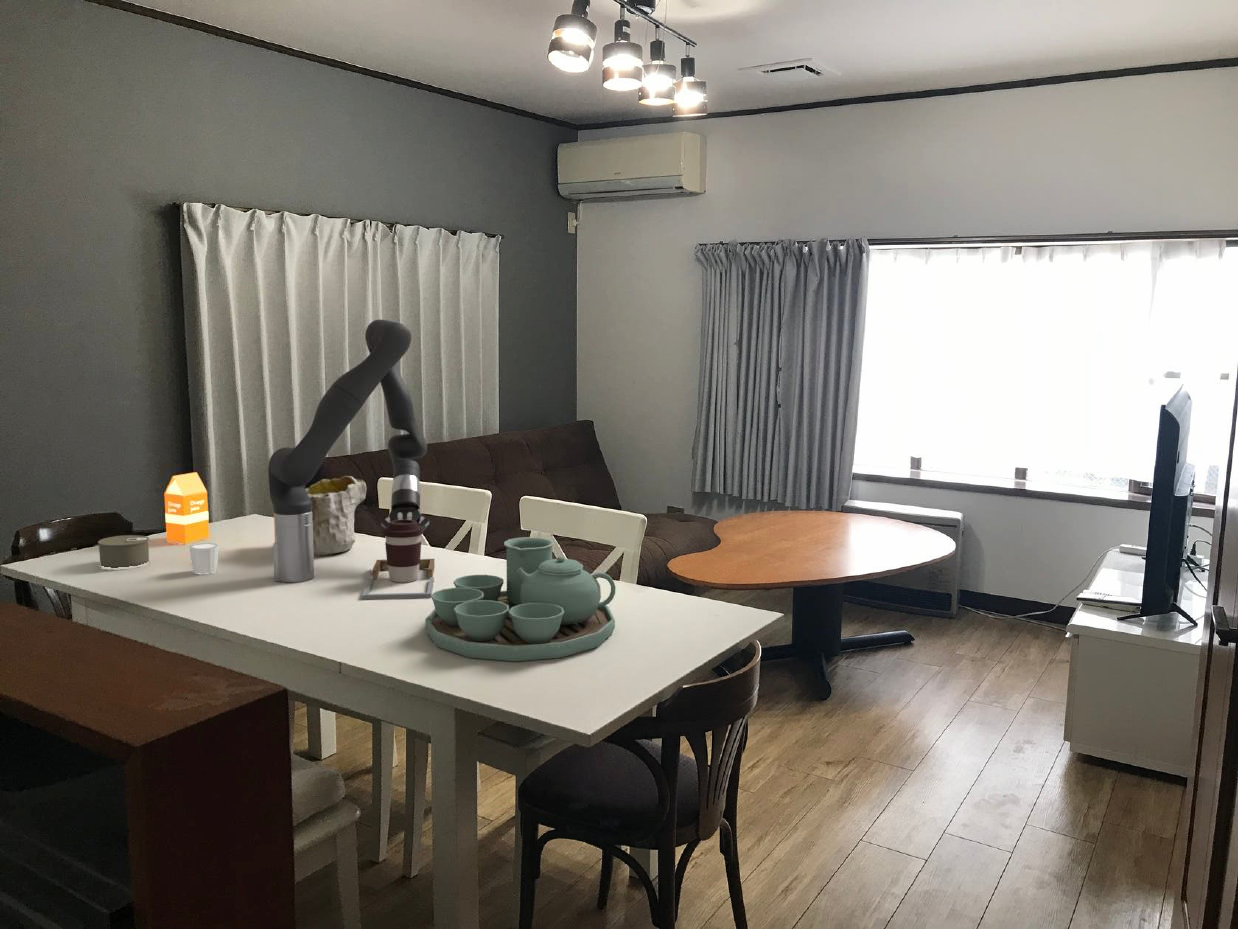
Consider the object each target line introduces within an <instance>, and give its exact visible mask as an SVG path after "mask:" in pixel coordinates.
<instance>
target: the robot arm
mask: <svg viewBox="0 0 1238 929" xmlns="http://www.w3.org/2000/svg"><path fill="white" fill-rule="evenodd" d="M365 342H366V347H367V350H368V352H369V355H367V357H366V358H365V359H363V360H362V361H361V362H360V363H359V364H357V365H356V366H355V367H353V368H351V369H349V370H348V371H346V372H345V373H344V374H342V375H341V376H339V377H337V379H336V380H335V381H334V382H333V383H332V384H331V386H330V387H329V388H328V389H327V391H326V392H325V393H324V395H323V396H322V398H321V400H320V401H319V403H318V405H317V408H316V411H315V414H314V417H313V419H312V423H311V425H310V427H309V430H308V431H307V433H306V434H305V435H304V436H303V438H302V439H301V440H300V441H299V443H298V444H297V445H296V446H295V447H281V448H279V449H277V450H275V451H274V452H273V453H272V455H271V456H270V458H269V461H268V468H267V470H268V471H267V473H268V474H267V475H268V486H269V497H270V500H271V503H272V508H273V524H274V525H273V526H274V542H273V543H272V554H273V577H274V578H273V581H274V582H283V583H299V582H306V581H309V580H312V579H314V578H315V562H314V561H315V558H314V557H315V556H314V549H313V520H312V501H311V499H310V498H309V496H308V494H307V492H306V489H307V488H306V485H307V484H308V483H309V482H311V481H312V480H313V478H314V477H315V475H316V473H317V472H318V470H319V469H320V467H321V465H322V463H323V462H324V461H325V459H326V456H328V453H329V452H330V450H331V449H332V447H333V445H334V444H335V443H336V442H337V440H338V439H339V438H340V436H341V435H342V434H343V432H344V431H345V430H346V428H347V427H348V426H349V424H350V423H351V422H352V421H353V419H354V418H355V416H356V415H357V414H358V413H359V411H360V410H361V408H362V407H363V406H364V404H365V403H366V401H367V400H368V399H369V397H370V396H371V394H372V393H373V392H374V391H375V390H376V389H377V387H378V385H380V386H381V389H382V392H383V397H384V401H385V406H386V411H387V417H388V420H389V421H388V422H389V424H390V427H391V428H392V429H394V430H399V431H405V432H407V433H406V434H396V435H393V436H391V437H390V438H389V440H388V442H387V450H388V453H389V456H390V459H391V462H392V467H393V469H392V471H393V475H392V476H393V477H392V478H393V480H392V486H391V501H390V504H391V505H390V512H389V514H388V516H387V517H386V518H381V519H380V524H381V525H380V526H381V527H382V529H383V528H384V527H386V526H388V524H389V522H391V521H393V520H401V519H409V520H415V521H416V522H417V524H418V525H420V526H422V527H423V532H425V531H426V529H427V528H428V527H429V525H430V518H429V517H425V516H423V515H422V512H421V495H422V494H421V483H420V476H421V475H420V473H421V472H420V465H419V463H418V462H417V461H415V460H413V459H421V458H423V457H424V456H425V455H426V454H427V451H428V442H427V441H426V439H425V436H424V434H423V432H422V430H421V429H420V425H418V421H417V419H416V415H415V410H414V405H413V404H414V403H413V400H412V396H411V393H410V390H409V388H408V386H407V384H406V383H405V381H404V379H403V376H402V375H401V373H400V371H399V369H398V367H397V363H398V362H399V361H400V360H401V359H402V358H403V357H404V356H405V354H406V353H407V351H408V350H409V348H410V346H411V343H412V332H411V330H410V328H409V327H408V326H407V325H405V324H403V323H401V322H396V321H392V320H387V319H375V320H372V321H371V322H370V323H369V324H368V325H367V327H366V329H365Z"/></svg>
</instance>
